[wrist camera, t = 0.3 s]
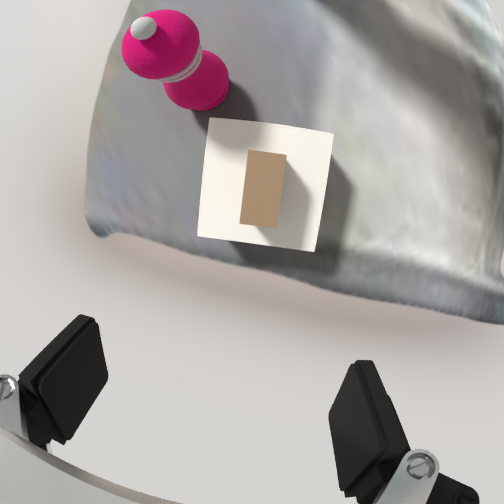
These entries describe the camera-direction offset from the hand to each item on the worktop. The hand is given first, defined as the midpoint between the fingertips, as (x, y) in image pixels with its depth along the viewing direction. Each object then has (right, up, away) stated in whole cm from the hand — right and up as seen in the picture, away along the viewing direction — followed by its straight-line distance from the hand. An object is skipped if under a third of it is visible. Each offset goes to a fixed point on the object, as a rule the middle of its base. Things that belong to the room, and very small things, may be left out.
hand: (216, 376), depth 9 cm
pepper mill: (-5, +25, +22) cm, 34 cm away
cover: (+3, +13, +25) cm, 29 cm away
